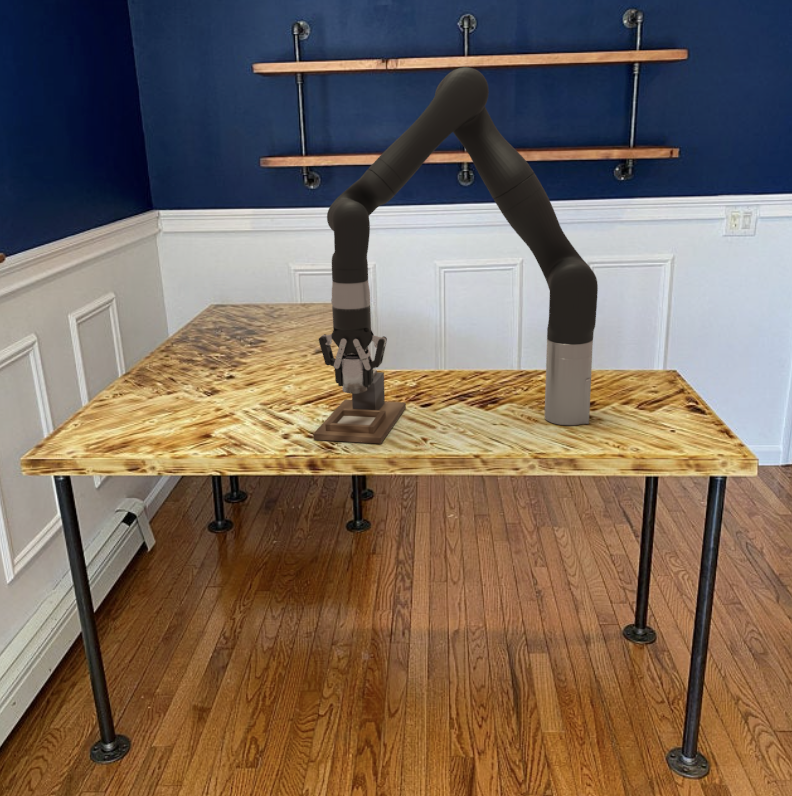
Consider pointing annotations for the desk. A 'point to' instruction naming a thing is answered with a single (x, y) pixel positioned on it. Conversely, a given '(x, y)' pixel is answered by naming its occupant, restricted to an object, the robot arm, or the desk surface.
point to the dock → (362, 416)
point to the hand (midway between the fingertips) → (354, 385)
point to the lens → (353, 374)
